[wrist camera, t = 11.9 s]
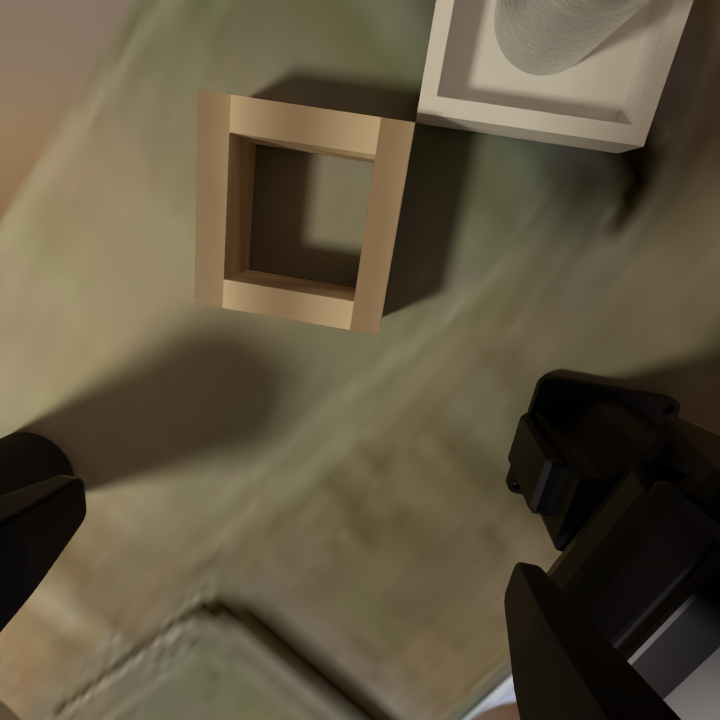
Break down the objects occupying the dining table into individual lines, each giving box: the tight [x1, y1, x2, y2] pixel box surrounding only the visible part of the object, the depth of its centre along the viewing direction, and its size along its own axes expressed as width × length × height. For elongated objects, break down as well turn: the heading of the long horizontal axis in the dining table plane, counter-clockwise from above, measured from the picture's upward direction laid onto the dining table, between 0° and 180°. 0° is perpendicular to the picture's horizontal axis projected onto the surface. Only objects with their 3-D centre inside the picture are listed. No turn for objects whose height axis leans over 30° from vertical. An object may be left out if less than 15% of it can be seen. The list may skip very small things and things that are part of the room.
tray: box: [416, 0, 693, 153], centre depth 15 cm, size 8×8×2 cm
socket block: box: [195, 90, 415, 335], centre depth 18 cm, size 8×8×3 cm
